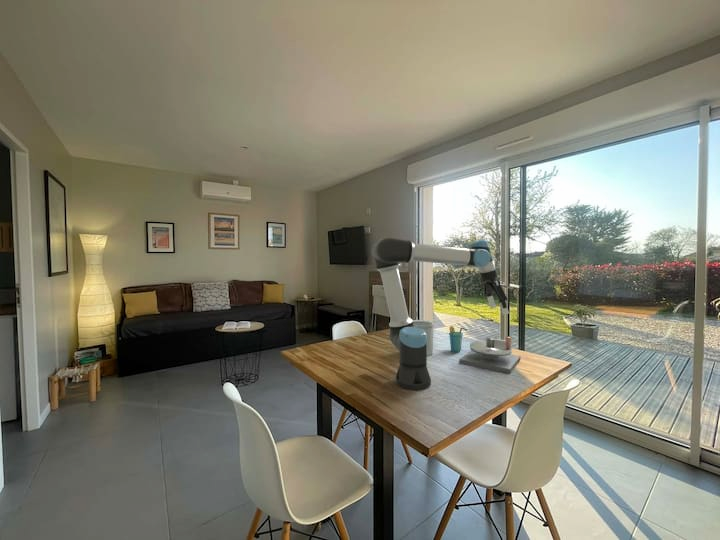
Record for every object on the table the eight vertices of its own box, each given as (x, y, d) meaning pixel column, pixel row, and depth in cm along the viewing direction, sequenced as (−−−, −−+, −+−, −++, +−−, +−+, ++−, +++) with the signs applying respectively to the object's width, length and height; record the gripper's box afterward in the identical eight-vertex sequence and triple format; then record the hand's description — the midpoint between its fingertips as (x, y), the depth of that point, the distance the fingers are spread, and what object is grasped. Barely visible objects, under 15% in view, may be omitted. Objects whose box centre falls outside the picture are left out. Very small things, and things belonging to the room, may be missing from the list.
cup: (471, 353, 172) (471, 327, 171) (461, 355, 168) (461, 329, 167) (452, 347, 184) (452, 323, 183) (443, 349, 180) (443, 324, 179)
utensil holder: (418, 347, 185) (417, 318, 184) (439, 352, 174) (439, 322, 173) (402, 352, 175) (402, 322, 174) (423, 358, 164) (423, 326, 163)
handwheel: (464, 351, 157) (464, 335, 156) (476, 342, 172) (476, 328, 172) (506, 358, 144) (506, 342, 144) (515, 348, 160) (515, 333, 160)
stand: (459, 362, 157) (459, 352, 156) (474, 351, 175) (474, 341, 175) (510, 373, 142) (510, 361, 142) (520, 359, 161) (520, 349, 160)
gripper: (507, 270, 136) (519, 314, 138) (484, 266, 161) (495, 304, 163) (491, 275, 137) (504, 319, 138) (470, 270, 161) (481, 308, 163)
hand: (499, 311), depth 151 cm, fingers open, 13 cm apart
